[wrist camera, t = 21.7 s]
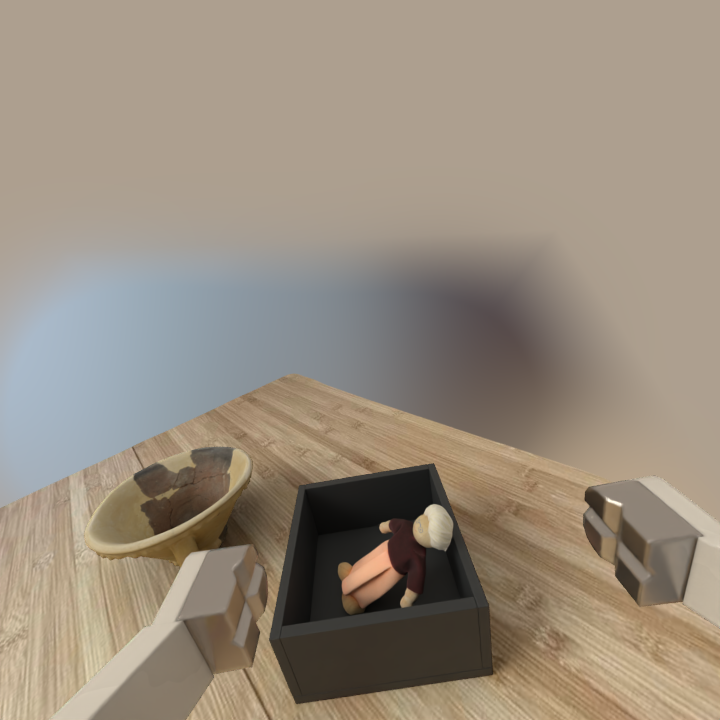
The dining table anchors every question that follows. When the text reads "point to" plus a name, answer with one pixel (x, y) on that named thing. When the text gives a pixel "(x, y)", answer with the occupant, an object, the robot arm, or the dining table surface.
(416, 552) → the grandmother figurine
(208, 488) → the bowl
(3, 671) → the dining table surface
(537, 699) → the dining table surface
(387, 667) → the open square box
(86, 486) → the dining table surface
